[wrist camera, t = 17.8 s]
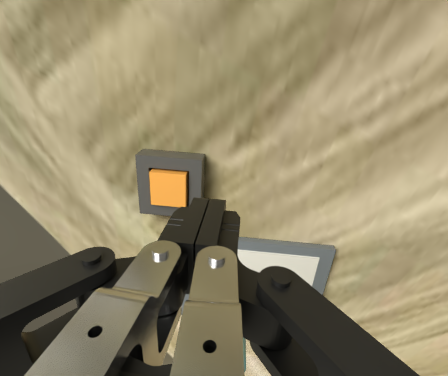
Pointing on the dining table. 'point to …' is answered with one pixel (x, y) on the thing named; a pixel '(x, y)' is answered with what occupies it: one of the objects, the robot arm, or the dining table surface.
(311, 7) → the dining table surface
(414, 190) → the dining table surface
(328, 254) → the drawing board
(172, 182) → the button
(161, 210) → the button housing
